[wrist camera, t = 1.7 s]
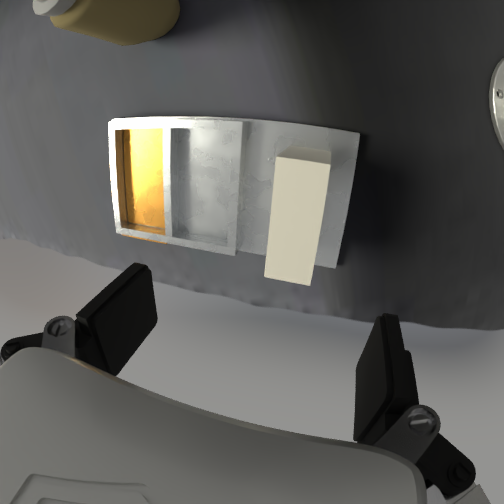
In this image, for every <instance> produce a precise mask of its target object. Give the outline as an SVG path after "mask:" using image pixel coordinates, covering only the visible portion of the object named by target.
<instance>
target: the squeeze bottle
mask: <svg viewBox="0 0 504 504" xmlns="http://www.w3.org/2000/svg"><path fill="white" fill-rule="evenodd" d="M33 10H34V12H35V14H38V15H43V16H50V19H51V21H52V23H53V24H54V26H55V27H58V28H61V29H65V30H69V31H73V32H77V33H81V34H85V35H89V36H92V37H96V38H99V39H102V40H106V41H109V42H112V43H115V44H118V45H121V46H124V45H135V44H139V43H142V42H147V41H151V40H155V39H157V38H159V37H161V36H164V35H165V34H166V33H167V32H168V31H169V30H171V29H172V28H173V26H174V24H175V23H176V21H177V20H178V17H179V13H180V5H179V1H178V0H33Z"/></svg>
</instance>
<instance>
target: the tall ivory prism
mask: <svg viewBox="0 0 504 504" xmlns="http://www.w3.org/2000/svg"><path fill="white" fill-rule="evenodd" d="M330 165H331V152H330V151H324V150H318V149H312V148H305V147H298V146H290V147H288V148H287V149H286V150H284V151H283V152H281V153H280V154H279V155H277V156H276V162H275V173H274V184H273V194H272V205H271V215H270V225H269V235H268V245H267V254H266V264H265V274H264V277H268V278H273V279H278V280H283V281H288V282H293V283H299V284H304V285H309V286H310V283H311V278H312V273H313V268H314V262H315V257H316V252H317V246H318V241H319V235H320V230H321V224H322V218H323V212H324V206H325V199H326V193H327V186H328V180H329V173H330Z"/></svg>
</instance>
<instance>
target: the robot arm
mask: <svg viewBox="0 0 504 504" xmlns="http://www.w3.org/2000/svg"><path fill="white" fill-rule="evenodd" d="M489 106H490V112H491V119H492V122H493V126H494V130H495V133H496V135H497V137H498V140H499V143H500V144H501V146H502V148H503V150H504V58H503V59H502V60H501V61H500V62H499V63H498V64H497V66H496V68H495V70H494V72H493V74H492V78H491V82H490V90H489ZM76 317H77V319H76V320H75V321H74V320H73V319H72V318H70V317H68V316H58V317H55V318H53V319H51V320H50V321H49V322H47V324H46V325H45V327H44V332H42V333H38V334H32V335H27V336H22V337H17V338H13V339H11V340H9V341H7V342H6V343H5V344H4V345H3V347H2V349H1V352H0V504H490V502H489V500H488V498H487V497H486V495H485V493H484V492H483V489H482V488H481V486H480V484H479V485H477V486H476V484H475V483H474V480H475V475H476V472H475V467H474V465H473V463H472V462H471V461H470V460H469V459H468V458H467V457H466V456H465V455H464V454H463V453H461V452H460V451H459V450H458V449H457V448H456V447H454V446H453V445H452V444H451V443H450V442H449V441H448V440H446V439H445V438H444V437H443V436H442V435H441V434H439V430H440V424H441V423H440V418H439V416H438V415H437V413H436V412H435V411H434V410H433V409H432V408H430V407H428V406H425V405H419V399H418V392H417V386H416V379H415V374H414V368H413V362H412V357H411V353H410V352H409V351H407V350H405V349H404V344H403V339H402V333H401V328H400V324H399V319H398V316H397V315H392V314H386V313H383V315H382V316H378V317H377V318H376V321H375V323H374V326H373V329H372V331H371V333H370V336H369V338H368V341H367V343H366V345H365V348H364V350H363V352H362V354H361V357H360V359H359V361H358V364H357V367H356V393H355V418H354V435H353V440H354V441H357V443H354V442H348V441H342V440H335V439H329V438H322V437H316V436H310V435H305V434H299V433H294V432H289V431H284V430H279V429H274V428H270V427H265V426H261V425H257V424H253V423H249V422H244V421H240V420H237V419H233V418H229V417H226V416H223V415H219V414H216V413H212V412H209V411H206V410H202V409H199V408H196V407H193V406H190V405H187V404H184V403H181V402H178V401H175V400H173V399H170V398H167V397H165V396H162V395H159V394H157V393H154V392H151V391H149V390H146V389H144V388H141V387H139V386H136V385H134V384H131V383H129V382H127V381H125V380H122V379H120V378H118V377H116V375H118V374H119V372H120V371H121V370H122V368H123V367H124V366H125V364H126V363H127V362H128V360H129V359H130V357H131V356H132V355H133V354H134V353H135V351H136V350H137V349H138V347H139V346H140V345H141V343H142V342H143V341H144V339H145V338H146V337H147V336H148V334H149V333H150V332H151V331H152V329H153V328H154V327H155V325H156V323H157V319H158V318H157V312H156V304H155V298H154V290H153V282H152V274H151V270H150V269H149V268H148V266H147V265H144V264H140V263H133V264H132V265H131V266H129V267H128V268H127V269H126V270H125V271H124V272H123V273H121V274H120V275H119V276H118V277H117V278H116V279H115V280H113V282H111V283H110V284H109V285H108V286H107V287H105V288H104V289H103V290H102V291H101V292H100V293H99V294H98V295H97V296H95V297H94V299H92V300H91V301H90V302H89V303H88V304H87V305H86V306H85V307H84V308H82V309H81V311H79V312H78V313H77V314H76Z"/></svg>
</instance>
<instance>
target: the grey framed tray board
mask: <svg viewBox="0 0 504 504" xmlns="http://www.w3.org/2000/svg"><path fill="white" fill-rule="evenodd" d="M359 138H360V133H356V132H350V131H345V130H339V129H333V128H327V127H320V126H313V125H306V124H298V123H290V122H281V121H271V120H260V119H247V118H230V117H203V116H163V117H136V118H120V119H112V122H109V150H110V173H111V187H112V198H113V207H114V217H115V225H116V233H119V234H122V235H124V236H129V237H134V238H139V239H144V240H149V241H154V242H159V243H164V244H167V243H170V244H175V245H180V246H185V247H190V248H196V249H201V250H206V251H211V252H216V253H222V254H227V255H232V256H235V255H236V254H237V253H238V251H244V252H249V253H255V254H260V255H266V254H267V245H268V235H269V225H270V215H271V205H272V194H273V184H274V173H275V162H276V156H277V155H279V154H280V153H281V152H283V151H284V150H286V149H287V148H288V147H290V146H298V147H305V148H312V149H318V150H324V151H330V152H331V165H330V173H329V180H328V186H327V193H326V199H325V206H324V212H323V218H322V224H321V230H320V235H319V241H318V246H317V252H316V257H315V262H314V265H319V266H325V267H330V268H336V264H337V260H338V255H339V251H340V246H341V241H342V237H343V232H344V227H345V222H346V217H347V212H348V206H349V201H350V195H351V190H352V184H353V178H354V172H355V165H356V159H357V152H358V145H359Z"/></svg>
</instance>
